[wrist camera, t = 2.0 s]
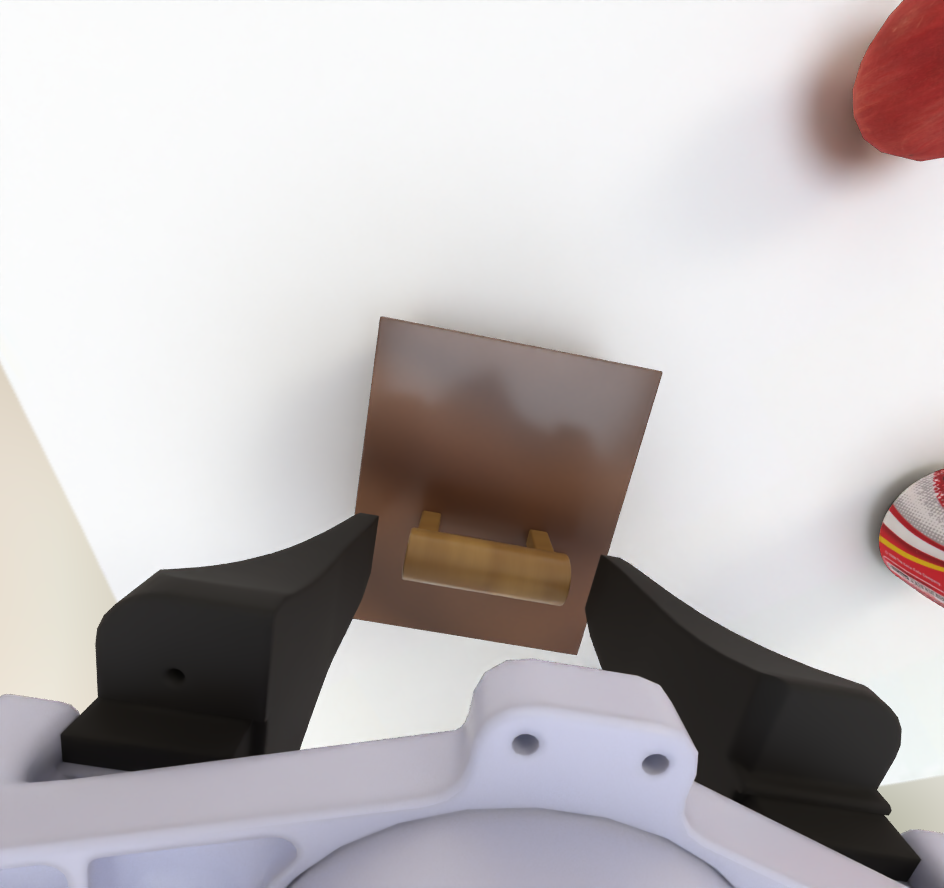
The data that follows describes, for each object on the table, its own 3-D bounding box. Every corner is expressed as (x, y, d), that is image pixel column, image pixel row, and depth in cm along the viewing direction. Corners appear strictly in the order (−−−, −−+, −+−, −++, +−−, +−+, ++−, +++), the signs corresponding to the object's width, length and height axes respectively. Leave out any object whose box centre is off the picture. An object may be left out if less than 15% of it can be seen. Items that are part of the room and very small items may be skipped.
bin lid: (384, 316, 15) (351, 313, 11) (654, 370, 15) (718, 385, 11) (345, 606, 18) (309, 686, 14) (573, 643, 18) (600, 731, 14)
